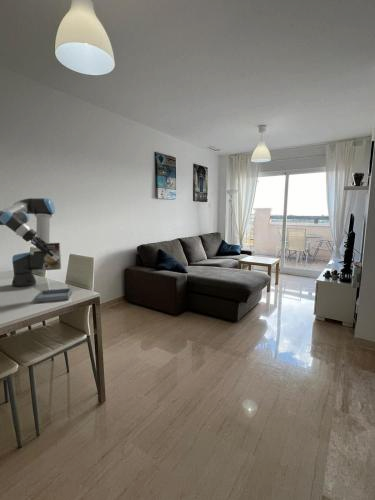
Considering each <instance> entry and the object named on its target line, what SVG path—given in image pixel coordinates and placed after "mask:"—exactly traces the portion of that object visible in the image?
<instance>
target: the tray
mask: <svg viewBox="0 0 375 500" xmlns="http://www.w3.org/2000/svg"><path fill="white" fill-rule="evenodd" d="M72 294H73V288H72V287H68V288H67V287H66V288H57V289H46V290H44V289H43V290H40V291H39V293H38V294H37V295H36V296H35V297H34V298H33V299H34V304H41V303H49V302H50V303H51V302H60V301H61V302H62V301H64V302H65V301H69V300H70V299H71V297H72Z"/></svg>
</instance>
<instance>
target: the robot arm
mask: <svg viewBox="0 0 375 500" xmlns="http://www.w3.org/2000/svg"><path fill="white" fill-rule="evenodd" d="M55 213H56V207H55V203H54V202H53V200H52V199H51V198H45V197H44V198H43V197H41V198H40V197H39V198H36V197H35V198H33V197H29V198H24V199H20V200H18V201H15V202H14V203H13V204H12V205H11V206H8V207H6V208H4V209H1V210H0V226H6V227H7V228H8V229H10V230H11V231H13V232H14V233H16V236H19V237H20V238H22V240H24V241H25V242H30V241H31V242H30V244H32V245H33V246H34V247H35V250H33V254H32V253H31V252H30V251H29V252H22V253H17V254H14V255H12V268H13V278H12V282H11V286H12V287H13V288H18V287H19V288H21V287H22V288H23V287H30V286H33V285H35V284H37V280H36V277H35V275H34V273H33V271H45V270H44V255H43V253H44V254H45V255H46V254H47V255H49V256H50V257H51V258H53V259H54V260H55V261H57V260H58V259H59V257H58V256H57V255H55V254H54V253H53V252H52V251H49V250H48V249H47V248H46V247H45V246H44V245H43V244H44V243H50V228H51V227H50V226H51V225H50V223H51V222H50V219H51V218H52V217H53V214H55ZM29 214H30V215H33V216H34V217H35V218H36V226H35V227H36V229H35V230H36V231H35V230H34V229H33V228H31V227H30V226H29V225H28V224H27V223H28V222H29V221H30V216H29Z"/></svg>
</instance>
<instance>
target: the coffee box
mask: <svg viewBox="0 0 375 500" xmlns="http://www.w3.org/2000/svg"><path fill="white" fill-rule="evenodd" d="M43 245H44V246H45V247H46V248H47V249H48V250H49V251H52V252H53V253H54V254H55V255H57V256H58V257H59V259H58V260H57V261H55V260H54V259H53V258H51V257H50V256H49V255H47V254H46V255H45V254H44V253H43V255H44V270H43V271H53V270H54V271H55V270H56V271H57V270H61V269H62V259H61V257H62V255H61V243H60V242H49V243H44V244H43Z"/></svg>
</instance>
